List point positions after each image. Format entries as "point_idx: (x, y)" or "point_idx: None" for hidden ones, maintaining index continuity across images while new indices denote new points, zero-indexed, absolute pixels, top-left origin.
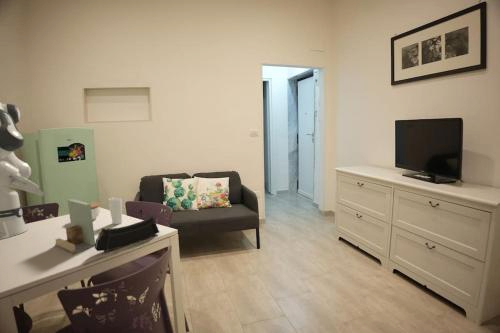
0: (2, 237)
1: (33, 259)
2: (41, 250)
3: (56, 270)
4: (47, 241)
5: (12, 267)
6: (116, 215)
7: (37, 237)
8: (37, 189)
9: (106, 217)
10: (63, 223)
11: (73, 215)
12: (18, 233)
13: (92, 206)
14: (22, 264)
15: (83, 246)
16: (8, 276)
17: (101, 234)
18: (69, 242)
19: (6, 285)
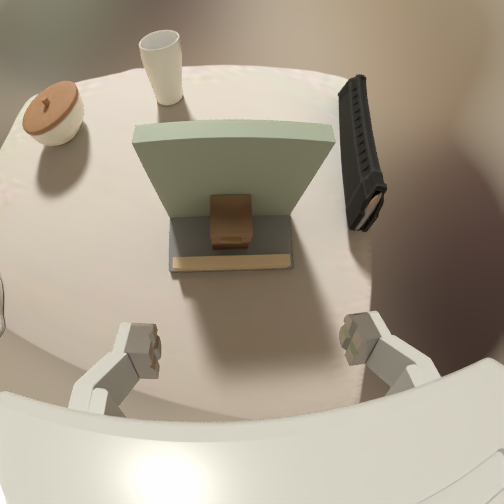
0: (2, 330)
1: (227, 352)
2: (173, 313)
3: None
4: (113, 272)
5: (235, 401)
6: (178, 81)
7: (57, 275)
8: (426, 366)
9: (98, 99)
10: (27, 186)
11: (186, 178)
12: (1, 293)
13: (70, 98)
14: (237, 380)
15: (279, 231)
16: None
17: (378, 199)
18: (226, 247)
19: None
